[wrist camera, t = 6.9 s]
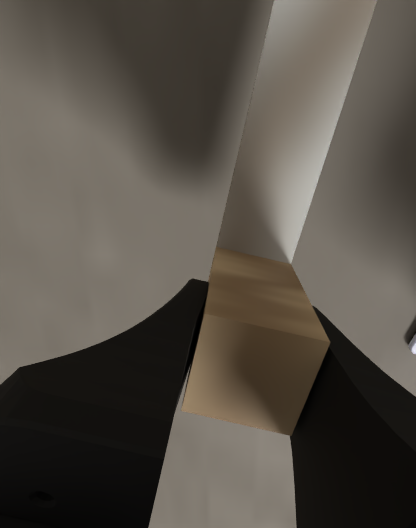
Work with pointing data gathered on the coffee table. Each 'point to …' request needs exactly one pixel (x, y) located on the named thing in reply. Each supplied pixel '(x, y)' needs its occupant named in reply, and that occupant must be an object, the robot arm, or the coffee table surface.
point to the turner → (275, 222)
